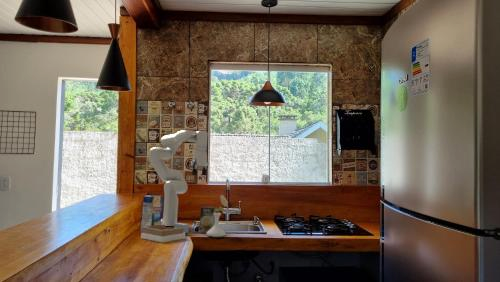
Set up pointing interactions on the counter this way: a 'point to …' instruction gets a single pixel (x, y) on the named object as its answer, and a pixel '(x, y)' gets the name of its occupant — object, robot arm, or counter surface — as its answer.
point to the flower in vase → (216, 230)
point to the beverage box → (151, 211)
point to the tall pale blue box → (182, 225)
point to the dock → (162, 233)
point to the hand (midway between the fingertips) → (199, 175)
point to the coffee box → (206, 219)
